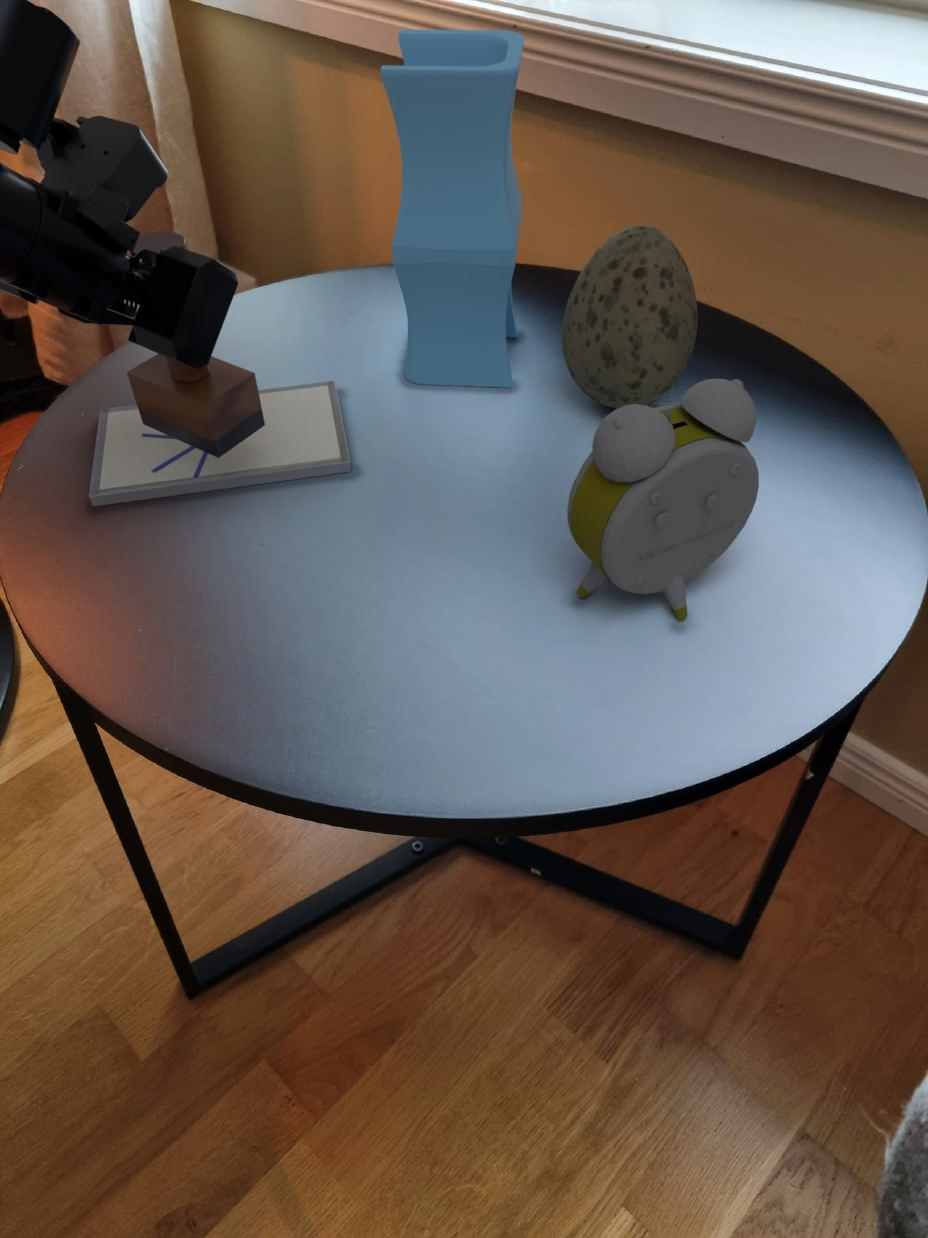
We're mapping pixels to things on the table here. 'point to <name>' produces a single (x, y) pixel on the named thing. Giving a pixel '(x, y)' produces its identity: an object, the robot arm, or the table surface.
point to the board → (281, 450)
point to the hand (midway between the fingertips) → (194, 325)
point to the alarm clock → (665, 490)
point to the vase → (457, 202)
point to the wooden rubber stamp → (195, 389)
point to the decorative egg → (630, 319)
